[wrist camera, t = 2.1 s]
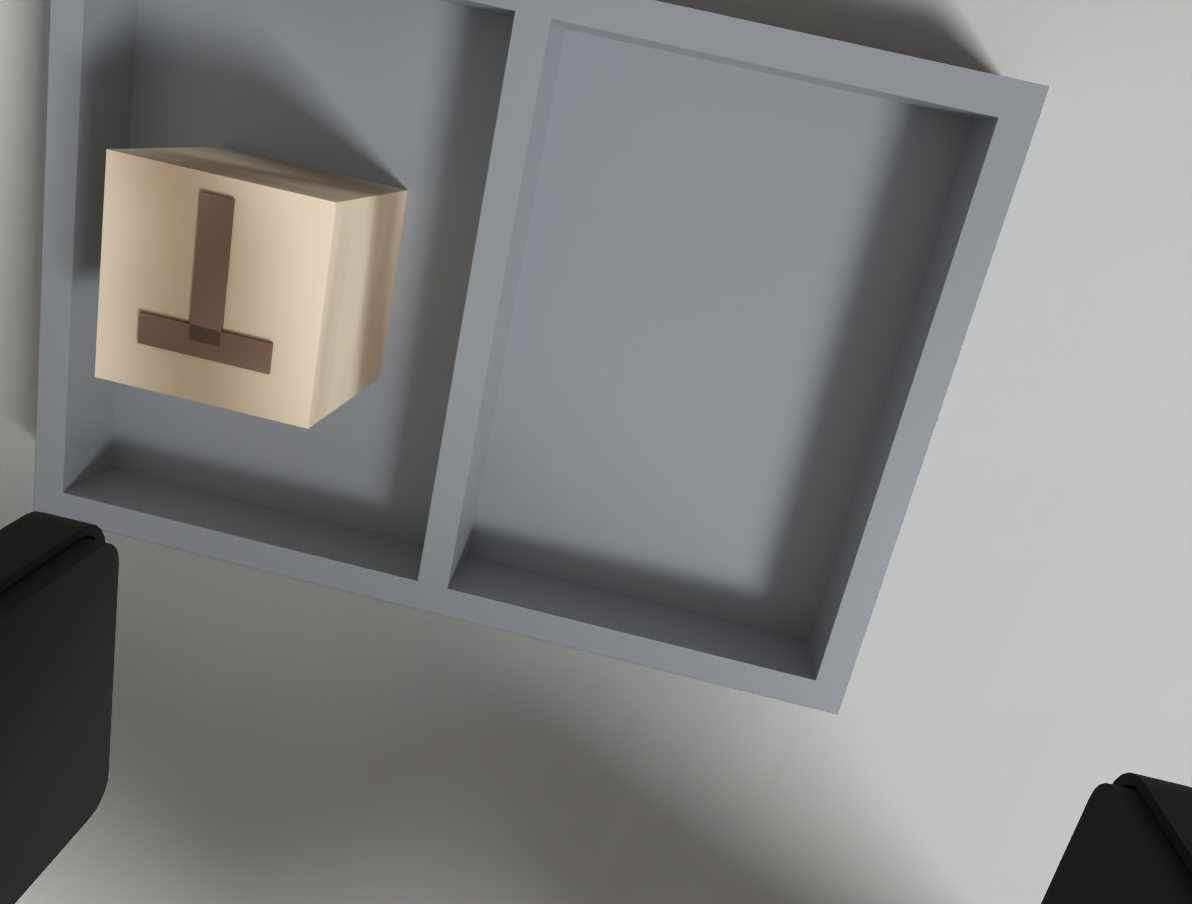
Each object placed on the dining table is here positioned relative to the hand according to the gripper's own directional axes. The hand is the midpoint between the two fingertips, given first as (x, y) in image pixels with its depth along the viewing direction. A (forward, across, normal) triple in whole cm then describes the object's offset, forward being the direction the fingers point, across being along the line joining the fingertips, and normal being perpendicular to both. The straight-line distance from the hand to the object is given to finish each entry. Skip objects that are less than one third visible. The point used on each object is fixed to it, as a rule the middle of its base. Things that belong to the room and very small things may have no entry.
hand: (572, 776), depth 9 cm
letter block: (+18, +10, 0) cm, 20 cm away
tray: (+18, +4, 0) cm, 19 cm away
